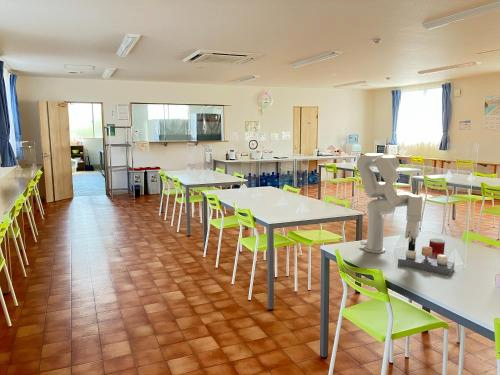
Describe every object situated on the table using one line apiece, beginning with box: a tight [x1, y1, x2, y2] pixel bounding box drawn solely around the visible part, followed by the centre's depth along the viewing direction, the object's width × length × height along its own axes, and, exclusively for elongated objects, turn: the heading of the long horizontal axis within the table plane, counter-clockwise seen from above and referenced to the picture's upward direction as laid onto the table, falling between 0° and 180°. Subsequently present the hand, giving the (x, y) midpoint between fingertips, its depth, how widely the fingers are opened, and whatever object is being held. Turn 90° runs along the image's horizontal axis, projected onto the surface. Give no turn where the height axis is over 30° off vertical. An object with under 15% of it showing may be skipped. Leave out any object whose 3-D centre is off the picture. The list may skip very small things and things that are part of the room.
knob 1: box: [405, 248, 417, 259], centre depth 228 cm, size 5×5×8 cm
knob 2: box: [437, 254, 449, 265], centre depth 218 cm, size 5×5×8 cm
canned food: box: [428, 238, 446, 259], centre depth 238 cm, size 8×8×11 cm
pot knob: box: [421, 245, 432, 261], centre depth 223 cm, size 5×5×8 cm
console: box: [397, 252, 455, 277], centre depth 224 cm, size 26×12×4 cm, turn 54°
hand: (411, 250), depth 227 cm, fingers closed
